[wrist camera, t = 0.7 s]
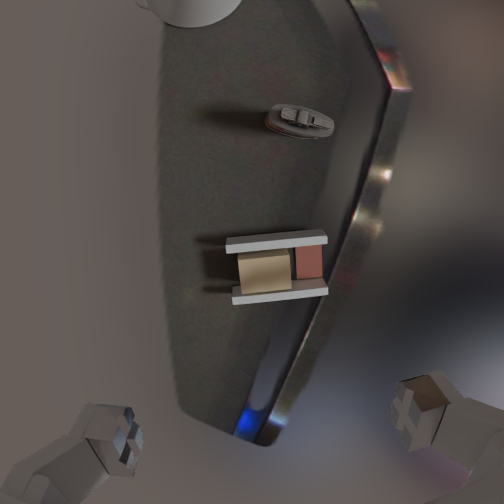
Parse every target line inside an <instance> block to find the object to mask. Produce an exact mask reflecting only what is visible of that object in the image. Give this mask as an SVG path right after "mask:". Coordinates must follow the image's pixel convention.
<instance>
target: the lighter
mask: <svg viewBox="0 0 504 504" xmlns="http://www.w3.org/2000/svg"><path fill="white" fill-rule="evenodd" d="M265 124H266V126H267V127H268V128H269V129H271V130H273V131H275V132H278V133H280V134H283V135H287V136H290V137H295V138H301V139H316V138H318V137H328V136H330V135H331V134H332V133H333V130H334V123H333V121H332V119H331V118H329V117H327V116H325V115H323V114H321V113H319V112H317V111H314V110H311V109H309V108H306V107H301V106H295V105H286V104H277V105H275V106H273V107H272V108H271V110H270V112H269V113H268V115H267V116H266V118H265Z"/></svg>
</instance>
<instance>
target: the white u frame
mask: <svg viewBox="0 0 504 504" xmlns="http://www.w3.org/2000/svg"><path fill="white" fill-rule="evenodd" d="M320 244H327V235H326V234H325V233H324V232H323V231H322V230H321V229H314V230H302V231H291V232H281V233H270V234H260V235H250V236H240V237H230V238H227V239H226V245H225V246H226V254H229V253H239V252H249V251H259V250H270V249H280V248H290V247H300V246H310V245H320ZM291 287H292V289H285V290H276V291H266V292H257V293H247V294H242V291H241V286H233V289H232V301H233V305H238V304H248V303H258V302H268V301H278V300H287V299H296V298H304V297H313V296H321V295H328V286H327V285H326V283H325V282H324V280H323V278H322V277H319V278H310V279H301V280H292V281H291Z"/></svg>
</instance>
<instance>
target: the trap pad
mask: <svg viewBox="0 0 504 504" xmlns="http://www.w3.org/2000/svg"><path fill="white" fill-rule="evenodd" d="M321 249H322V248H321V244H320V245H310V246H300V247H295V253H296V272H297V279H306V278H315V277H322V250H321Z"/></svg>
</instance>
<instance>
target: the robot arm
mask: <svg viewBox="0 0 504 504" xmlns="http://www.w3.org/2000/svg"><path fill="white" fill-rule="evenodd" d="M241 1H242V0H136V3H137V5H138V6H139V7H141V8H144V9H148V10H151V11H153V12H154V13H155V14H156V15H157V16H158V17H159V18H160V19H161V20H163V21H164V22H166V23H168V24H171V25H174V26H178V27H185V28H193V27H202V26H206V25H210V24H213V23H215V22H217V21H220V20H221V19H223V18H225V17H226V16H228V15H229V14H230V13H231V12H233V11H234V10H235V9H236V7H237V6H238V5H239V3H240V2H241ZM395 392H396V394H397V397H396V398H395V399H394V400H393V401H392V406H391V417H392V421H393V423H394V426H395V427H396V429H398V430H400V431H402V435H401V439H402V441H403V443H404V445H405V447H406V449H407V451H408V452H409V451H413V450H416V449H420V448H423V447H426V446H429V445H431V446H432V447H434V448H435V449H437V450H438V451H440V452H441V453H443V454H445V455H446V456H448V457H449V458H451V459H453V460H454V461H456V462H457V463H459V464H461V465H462V466H464V467H466V468H467V469H469V470H470V471H471V472H470V473H469V475H468V476H467V478H466V480H465V481H464V483H463V487H461V488H459V489H457V490H455V491H452V492H450V493H448V494H446V495H443V496H441V497H439V498H436V499H433V500H431V501H428V502H426V503H424V504H504V410H501V409H498V408H495V407H492V406H490V405H487V404H484V403H481V402H479V401H476V400H474V399H471V398H465V399H464V397H463V396H462V395H461V394H460V392H459V391H458V390H457V389H456V388H455V387H454V385H453V384H452V383H451V382H450V381H449V379H448V378H447V377H446V375H445V374H444V373H443V372H442V371H440V370H437V371H434V372H431V373H427V374H425V375H421V376H417V377H413V378H410V379H406V380H402V381H398V383H397V384H396V387H395ZM134 417H135V414H134V412H133V410H132V408H131V407H127V406H117V405H106V404H94V403H87V404H85V405H84V407H83V409H82V411H81V412H80V414H79V416H78V418H77V420H76V422H75V423H74V425H73V427H72V429H71V431H70V433H69V435H68V436H67V435H63V436H62V437H60V438H59V439H57V440H55V441H54V442H52V443H50V444H49V445H47V446H45V447H44V448H42V449H41V450H39V451H37V452H35V453H34V454H32V455H30V456H29V457H27V458H25V459H23V460H22V461H20V462H18V463H16V464H14V466H13V467H12V469H11V471H10V472H9V474H8V476H7V478H6V479H5V481H4V483H3V485H2V487H1V488H0V504H80V503H81V502H82V501H83V500H84V499H86V498H87V497H88V496H89V495H90V494H91V493H92V492H93V491H94V490H95V489H96V488H97V487H99V486H100V485H101V484H102V483H103V482H104V481H105V480H106V479H107V478H108V477H109V475H114V476H122V477H134V474H135V470H136V467H137V464H138V461H137V459H136V458H135V456H136V455H138V454H139V453H140V452H141V450H142V446H143V435H142V430H141V428H140V426H139V425H138V424H137V423H136V422H135V421H133V420H134Z"/></svg>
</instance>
